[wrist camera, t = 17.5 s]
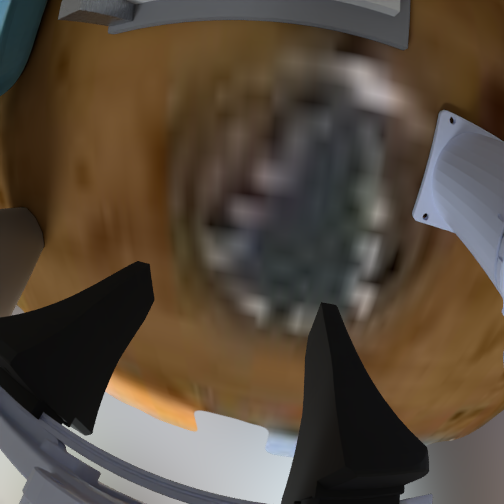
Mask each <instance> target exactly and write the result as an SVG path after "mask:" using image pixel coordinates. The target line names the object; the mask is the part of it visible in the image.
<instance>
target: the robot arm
mask: <svg viewBox="0 0 504 504" xmlns="http://www.w3.org/2000/svg"><path fill="white" fill-rule="evenodd" d="M451 117H452V118H453V123H452V124H451V123H450V118H451ZM425 213H427V216H426V217H425V218H423V215H424V214H425ZM412 216H413V218H414V219H415V220H416V221H418V222H422V223H425V224H428V225H432V226H435V227H438V228H441V229H444V230H447V231H451V232H454V233H456V235H457V236H458V237H459V238H460V239H461V241H462V242H463V243H464V244H465V246H466V247H467V248H468V249H469V251H470V252H471V253H472V254H473V256H474V257H475V258H476V260H477V261H478V262H479V264H480V265H481V267H482V268H483V269H484V271H485V272H486V274H487V275H488V276H489V278H490V279H491V281H492V282H493V284H494V285H495V287H496V288H497V290H498V291H499V293H500V294H501V296H502V298H503V309H502V314H503V315H504V141H502V140H500V139H499V138H497V137H496V136H494V135H492V134H491V133H489V132H487V131H486V130H484V129H482V128H480V127H479V126H477V125H475V124H473V123H471V122H469V121H467V120H466V119H464V118H462V117H460V116H458V115H456V114H454V113H452V112H449V111H447V110H441V111H440V112H439V115H438V120H437V125H436V130H435V134H434V139H433V143H432V147H431V151H430V155H429V159H428V163H427V166H426V170H425V174H424V177H423V180H422V184H421V187H420V190H419V193H418V197H417V200H416V203H415V206H414V209H413V212H412ZM153 302H154V293H153V287H152V280H151V272H150V264H147V263H143V262H139V261H137V262H135V263H133V264H131V265H129V266H127V267H125V268H123V269H122V270H120V271H118V272H116V273H114V274H113V275H111V276H109V277H107V278H106V279H104V280H102V281H100V282H99V283H97V284H95V285H93V286H91V287H89V288H87V289H85V290H83V291H81V292H80V293H78V294H75V295H73V296H71V297H69V298H67V299H64V300H62V301H60V302H57V303H55V304H52V305H49V306H46V307H43V308H40V309H37V310H34V311H30V312H26V313H22V314H18V315H12V316H6V317H0V449H1V451H2V452H3V453H4V454H5V455H6V457H7V458H8V459H9V460H10V461H11V463H12V464H13V465H14V466H15V467H16V468H17V469H18V471H19V472H20V473H21V474H22V475H23V476H24V477H25V478H26V479H27V482H26V484H25V486H24V488H23V493H24V494H23V496H22V499H21V501H20V503H19V504H145V503H143V502H140V501H138V500H136V499H133V498H131V497H129V496H127V495H125V494H122V493H120V492H118V491H116V490H114V489H112V488H110V487H108V486H106V485H104V484H102V483H101V482H99V481H98V479H99V477H100V475H101V474H100V472H99V471H97V470H95V469H94V468H92V467H90V466H88V465H87V464H85V463H84V462H82V461H80V460H79V459H77V458H76V457H74V456H72V455H71V454H69V453H68V452H67V451H66V447H65V445H67V446H68V447H70V448H72V449H73V450H75V451H76V452H78V453H79V454H81V455H82V456H84V457H86V458H87V459H89V460H91V461H93V462H94V463H96V464H98V465H99V466H101V467H103V468H105V469H107V470H109V471H111V472H113V473H114V474H116V475H118V476H120V477H123V478H125V479H127V480H129V481H131V482H133V483H136V484H138V485H140V486H143V487H145V488H147V489H150V490H152V491H154V492H157V493H160V494H162V495H165V496H168V497H171V498H173V499H177V500H179V501H182V502H186V503H189V504H265V503H258V502H252V501H246V500H241V499H235V498H230V497H227V496H222V495H218V494H214V493H210V492H206V491H203V490H199V489H196V488H192V487H189V486H186V485H183V484H180V483H177V482H174V481H171V480H168V479H165V478H163V477H160V476H158V475H155V474H153V473H150V472H147V471H145V470H143V469H140V468H138V467H136V466H134V465H131V464H129V463H127V462H125V461H123V460H121V459H119V458H117V457H115V456H113V455H111V454H109V453H107V452H105V451H103V450H102V449H100V448H98V447H96V446H94V445H93V444H91V443H89V442H87V441H86V440H84V439H82V438H81V437H79V436H78V435H76V434H74V433H73V432H71V431H70V430H68V429H67V428H65V427H64V426H62V423H63V424H64V425H66V426H68V427H70V426H71V427H72V428H74V429H75V430H77V431H79V432H80V433H82V434H84V435H90V434H92V433H93V428H94V424H95V420H96V417H97V413H98V410H99V407H100V403H101V401H102V398H103V395H104V392H105V390H106V388H107V385H108V383H109V380H110V378H111V376H112V373H113V371H114V369H115V367H116V365H117V363H118V361H119V359H120V357H121V356H122V354H123V352H124V351H125V349H126V348H127V346H128V345H129V343H130V342H131V340H132V338H133V337H134V335H135V334H136V332H137V331H138V329H139V328H140V326H141V325H142V323H143V321H144V320H145V318H146V316H147V314H148V312H149V310H150V308H151V306H152V304H153ZM503 361H504V354H503ZM428 472H429V457H428V450H427V447H426V446H425V445H424V444H423V443H422V442H421V441H420V440H419V439H418V438H417V437H416V436H415V435H414V434H413V433H412V432H411V431H410V430H409V429H408V428H407V427H406V426H405V425H404V424H403V422H402V421H401V420H400V419H399V418H398V417H397V415H396V414H395V413H394V412H393V410H392V409H391V408H390V406H389V405H388V404H387V402H386V401H385V400H384V398H383V397H382V396H381V394H380V393H379V391H378V390H377V388H376V386H375V385H374V383H373V382H372V380H371V378H370V377H369V375H368V373H367V371H366V369H365V368H364V366H363V364H362V362H361V360H360V358H359V356H358V354H357V352H356V350H355V348H354V345H353V343H352V341H351V339H350V337H349V334H348V332H347V330H346V327H345V325H344V323H343V320H342V318H341V315H340V312H339V310H338V307H337V306H336V305H333V304H327V303H322V302H321V304H320V307H319V310H318V312H317V315H316V318H315V320H314V323H313V326H312V328H311V331H310V333H309V336H308V342H307V349H306V356H305V377H304V401H303V413H302V419H301V425H300V430H299V436H298V440H297V445H296V450H295V454H294V458H293V462H292V466H291V470H290V474H289V477H288V481H287V484H286V488H285V491H284V494H283V497H282V501H281V504H433V495H432V494H428V495H424V496H419V497H414V498H409V499H404V500H400V494H403V493H404V485H405V484H408V483H410V482H413V481H415V480H417V479H420V478H422V477H424V476H425V475H426V474H427V473H428Z"/></svg>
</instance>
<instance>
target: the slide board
mask: <svg viewBox="0 0 504 504" xmlns="http://www.w3.org/2000/svg"><path fill="white" fill-rule="evenodd" d="M127 1H128V2H131V3H134V4H136V8H135V14H134V19H133V22H128V23H124V24H120V25H116V26H112V27H110V26H109V29H108V33H110V34H117V33H121V32H126V31H130V30H135V29H140V28H146V27H151V26H158V25H164V24H172V23H181V22H192V21H207V20H258V21H273V22H283V23H292V24H300V25H307V26H313V27H319V28H325V29H330V30H335V31H339V32H344V33H348V34H352V35H356V36H360V37H363V38H367V39H371V40H374V41H377V42H380V43H384V44H387V45H390V46H393V47H395V48H398V49H401V50H405V49H407V48H408V37H409V22H410V0H127Z"/></svg>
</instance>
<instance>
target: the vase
mask: <svg viewBox="0 0 504 504" xmlns="http://www.w3.org/2000/svg"><path fill="white" fill-rule="evenodd" d="M43 248H44V241H43V234H42V231H41V229H40V227H39V225H38V222H37V220H36V218H35V217H34V216H33V215H32V213H31V212H30V211H29V210H28V209H27V208H20V207H19V208H6V209H0V317H6V316H11V314H12V312H13V310H14V308H15V306H16V304H17V302H18V300H19V298H20V296H21V294H22V292H23V290H24V288H25V286H26V284H27V282H28V280H29V278H30V276H31V274H32V271H33V269H34V267H35V265H36V263H37V260H38V258H39V256H40V254H41V252H42V250H43Z"/></svg>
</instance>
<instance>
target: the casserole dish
mask: <svg viewBox="0 0 504 504" xmlns="http://www.w3.org/2000/svg"><path fill="white" fill-rule="evenodd" d="M47 1H48V0H0V96H1V95H3V94H4V93H5V92H6V91H8V90H9V89H10V88H11V87H12V86H13V85H14V84H15V82H16V81H17V80H18V78H19V77H20V75H21V73H22V71H23V69H24V67H25V65H26V63H27V60H28V58H29V55H30V53H31V50H32V47H33V44H34V41H35V37H36V34H37V31H38V28H39V25H40V21H41V18H42V15H43V13H44V10H45V7H46V4H47Z"/></svg>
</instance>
